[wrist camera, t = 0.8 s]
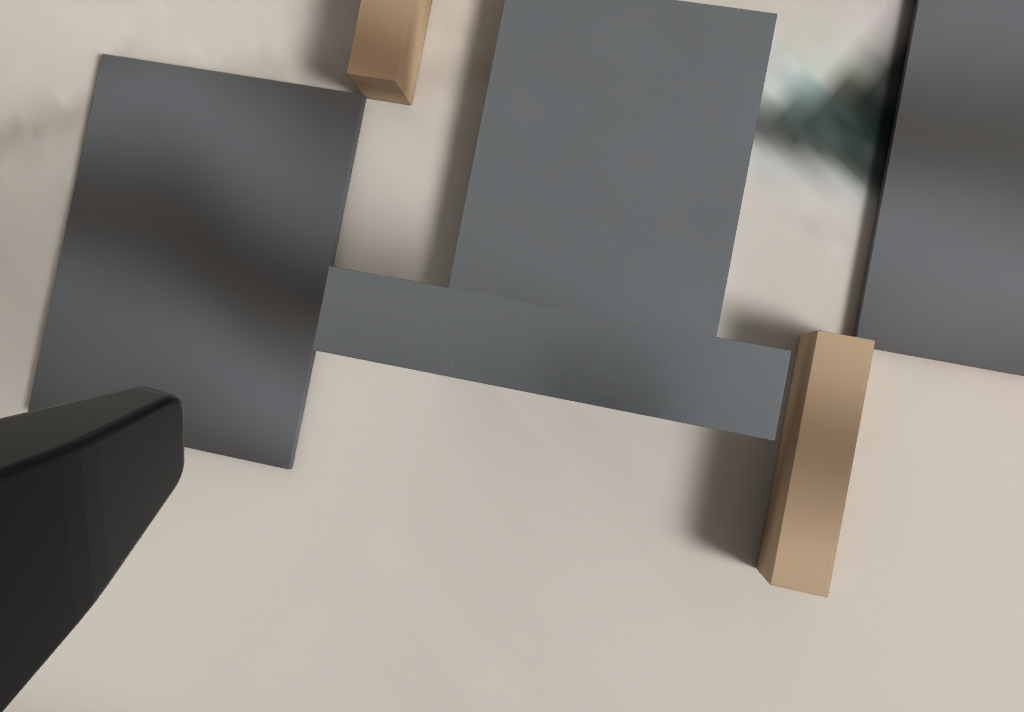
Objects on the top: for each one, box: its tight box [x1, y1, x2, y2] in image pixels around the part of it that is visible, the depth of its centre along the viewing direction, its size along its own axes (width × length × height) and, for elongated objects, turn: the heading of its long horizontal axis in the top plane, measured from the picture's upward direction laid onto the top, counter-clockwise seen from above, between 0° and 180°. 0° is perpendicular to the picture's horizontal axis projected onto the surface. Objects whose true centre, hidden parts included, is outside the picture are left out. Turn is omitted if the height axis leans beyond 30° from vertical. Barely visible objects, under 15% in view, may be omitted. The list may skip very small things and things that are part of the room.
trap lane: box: [28, 0, 1024, 597], centre depth 24 cm, size 25×34×2 cm
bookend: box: [313, 0, 791, 441], centre depth 19 cm, size 12×8×11 cm, turn 169°
